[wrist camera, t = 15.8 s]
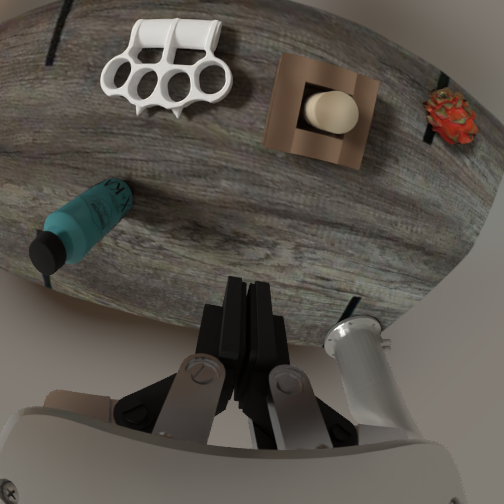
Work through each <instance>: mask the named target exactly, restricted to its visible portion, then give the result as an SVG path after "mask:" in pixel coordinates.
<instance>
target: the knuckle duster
mask: <svg viewBox="0 0 504 504" xmlns="http://www.w3.org/2000/svg"><path fill="white" fill-rule="evenodd" d="M221 27H222V22H219V20H213V21H208V20H191V19H180V18H175V19H151V20H144V19H139V20H138V21H137V22H136V23H135V25H134V27H133V29H132V33H131V38H130V43H129V47H128V48H127V49H126V50H125V51H124V52H123V54H121V55H118V56H116V57H114V58H113V59H111V60H110V61H109V62H108V63H107V64H106V66H105V67H104V69H103V71H102V74H101V87H102V89H103V91H104V92H105V93H106V94H107V95H108V96H112V97H120V96H124V97H126V98H127V99H128V100H129V101H130V103H131V104H134V105H136V111H137V116H138V115H139V114H140V113H141V112H142V111H143V110H144V109H145V108H151V107H153V106H156V105H160V106H163V107H165V108H166V109H172V111H173V112H174V114H175V115H176V117H177V118H178V119H179V117H180V114H181V112H182V110H183V108H184V107H187V106H189V105H190V104H192V103H194V102H197V101H208V102H210V103H216V102H219V101H221V100H222V99H224V98H225V97H226V96H227V95H228V94H229V92H230V90H231V88H232V85H233V76H232V73H231V71H230V69H229V67H228V65H227V64H226V63H225V62H224V61H222V60H221V59H218V58H216V57H215V56H214V51H215V50H216V47H217V44H218V41H219V37H220V32H221ZM142 48H164V51H163V55H162V59H161V61H160V62H159V63H157V64H142V62H141V61H140V60H139V59H138V58H137V56H138V54H139V53H140V51H141V50H142ZM177 48H184V49H199V50H205V51H206V56H205V57H204V58H203V59H201V60H199V61H198V62H196V63H195V64H194V65H191V66H190V65H174V64H173V62H174V58H175V53H176V49H177ZM128 61H129V62H130V64H131V73H130V75H129V77H128V79H127V81H126V83H125V84H124V85H123V86H122V87H120V88H117V87H116V86H115V84H114V76H115V74H116V72H117V70H118V68H119V67H120V66H121V65H122V64H123V63H125V62H128ZM210 65H217V66H220V67H222V68H223V69H224V70H225V74H226V83H225V86H224V87H223V89H222V90H221V91H219V92H217V93H215V94H205V93H204V92H203V91H202V90H201V88H200V84H199V75H200V73H201V71H202V70H203V69H204V68H206V67H207V66H210ZM150 71H155V72H156V73H157V76H158V83H157V86H156V88H155V90H154V92H153V93H152V94H151V96H149V97H148V98H146V99H144V100H143V99H141V98H140V97H139V96H138V93H137V86H138V84H139V82H140V80H141V78H142V77H143V75H144V74H146V73H147V72H150ZM180 72H184V73H187V74H188V75H189V77H190V83H191V90H190V93H189V95H188V96H187V97H186V98H185V99H184V100H182V101H179V102H175V101H173V100H172V99H171V98H170V97H169V94H168V82H169V80H170V78H171V77H172V76H173V75H175V74H177V73H180Z"/></svg>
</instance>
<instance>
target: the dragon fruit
mask: <svg viewBox="0 0 504 504" xmlns="http://www.w3.org/2000/svg"><path fill="white" fill-rule="evenodd" d="M422 104H423V107H424V108H425V110H426V111H427V112H429V113H430V115H427V116H426V118H427V122H429V123H430V124H432V126H433V128H432V126H431V128H432V130H433V131H437V132H439V134H440V135H441V137H442V138H443V139H444V141H446V142H447V143H449V144H452V145H455V144H461V143H462V144H463V143H466V144H467V143H470V142H472V141H473V140H474V138H473V137H474V136H475V135H476V133H478V131H479V130H478V127H477V126H476V124H475V123H474V122H473V120H474V119H477V117H476V114H475V112H474V111H473V110H472V109H470V105H469V103H468V102H467V100H466V99H465V98H464V97H463V93H462V92H460V91H459V92H456V93H455V94H454V92H452V91H451V89H450V88H443V89H442V90H437V89H433V90H431V93H430V97H429V99H428V101H427V100H424V101H423V103H422Z"/></svg>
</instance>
